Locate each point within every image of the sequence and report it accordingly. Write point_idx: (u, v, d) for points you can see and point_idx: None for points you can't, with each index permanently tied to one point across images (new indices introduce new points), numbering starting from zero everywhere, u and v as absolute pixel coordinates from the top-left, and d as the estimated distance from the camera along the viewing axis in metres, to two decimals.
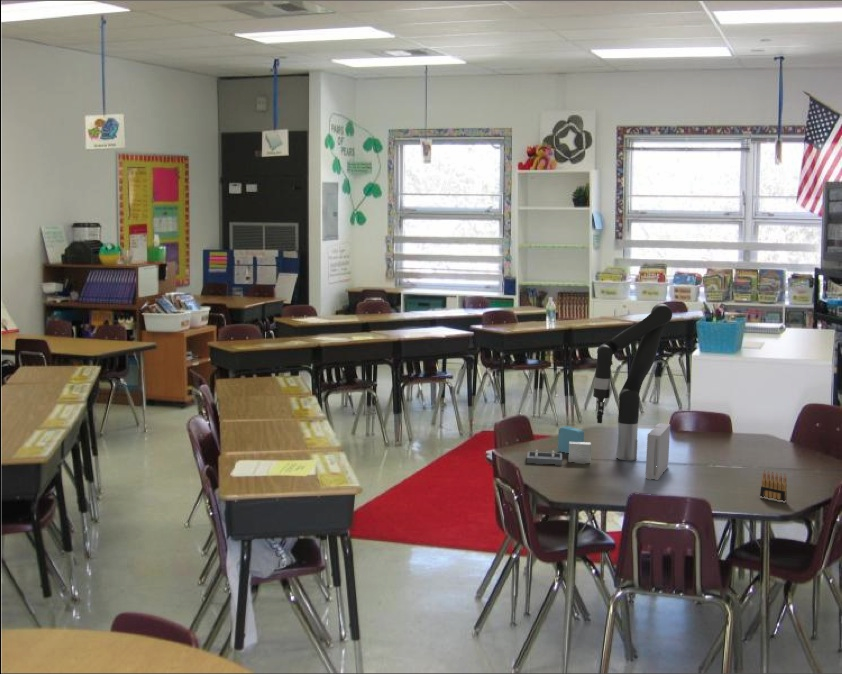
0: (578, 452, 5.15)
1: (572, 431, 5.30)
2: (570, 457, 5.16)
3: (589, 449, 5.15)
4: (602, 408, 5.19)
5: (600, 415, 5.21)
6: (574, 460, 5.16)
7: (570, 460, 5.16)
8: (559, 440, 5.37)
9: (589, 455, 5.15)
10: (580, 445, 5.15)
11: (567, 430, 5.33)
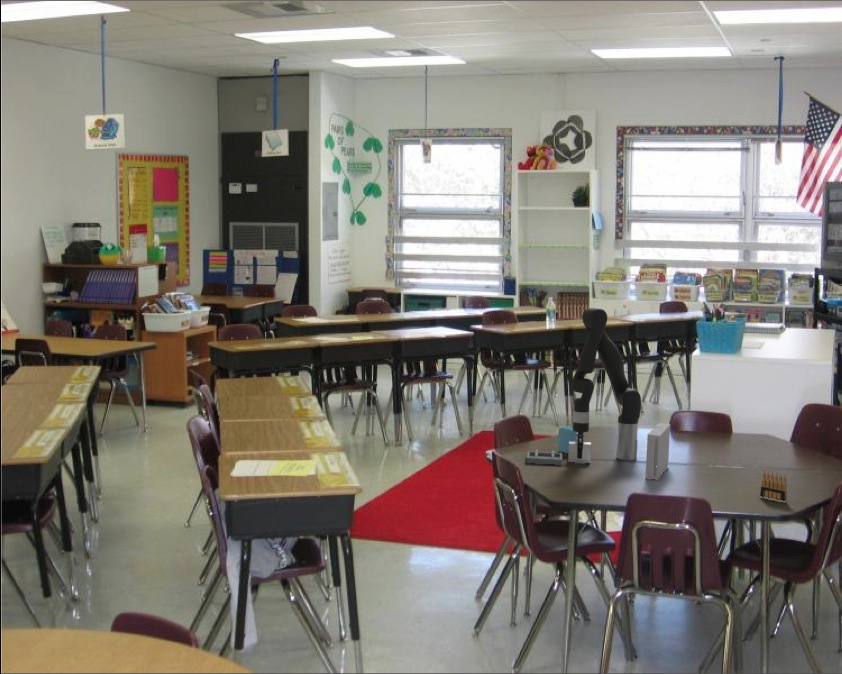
0: None
1: (572, 431, 5.31)
2: (570, 457, 5.16)
3: (589, 449, 5.14)
4: (581, 444, 5.11)
5: (580, 450, 5.14)
6: (574, 460, 5.16)
7: (570, 460, 5.16)
8: (559, 440, 5.37)
9: (589, 455, 5.15)
10: None
11: (567, 430, 5.33)
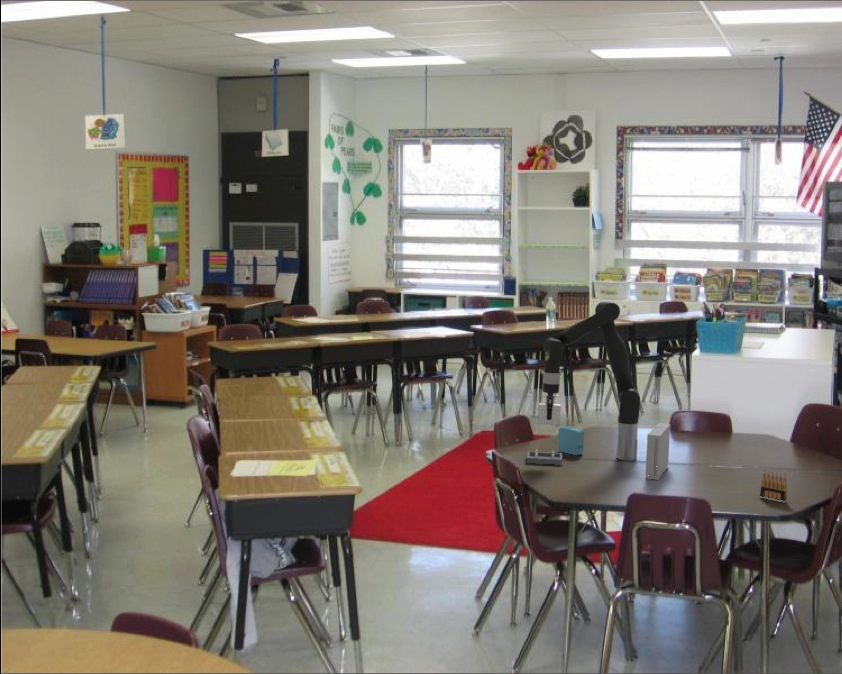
0: None
1: (572, 431, 5.31)
2: (539, 418, 5.14)
3: (559, 410, 5.12)
4: (551, 405, 5.09)
5: (549, 412, 5.11)
6: (543, 421, 5.14)
7: (539, 421, 5.14)
8: (559, 440, 5.37)
9: (558, 416, 5.13)
10: None
11: (567, 430, 5.33)
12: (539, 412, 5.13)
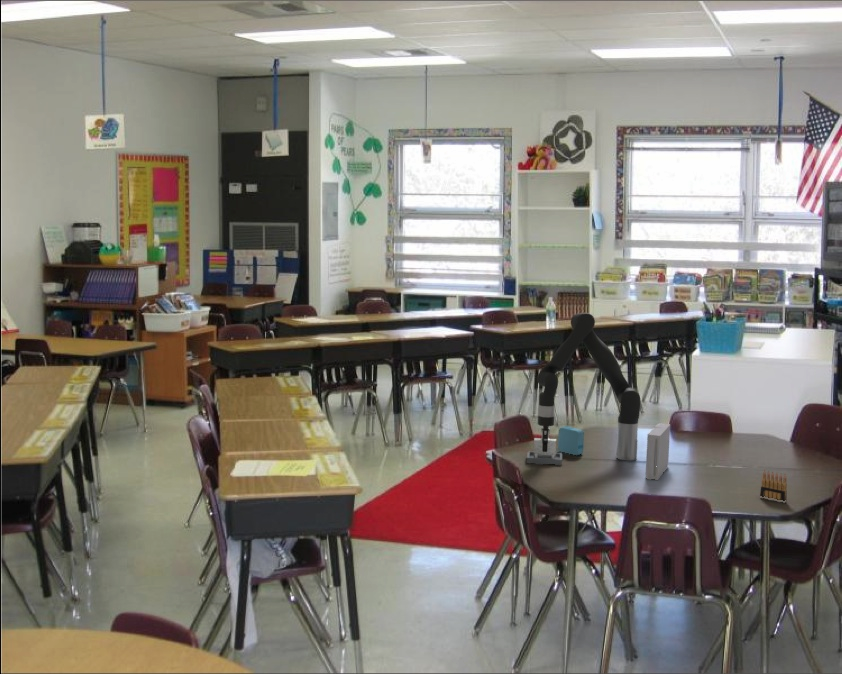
0: None
1: (572, 431, 5.31)
2: None
3: (554, 445, 5.14)
4: (546, 437, 5.10)
5: (545, 444, 5.12)
6: (539, 456, 5.16)
7: None
8: (559, 440, 5.37)
9: (554, 452, 5.15)
10: None
11: (567, 430, 5.33)
12: (535, 447, 5.16)
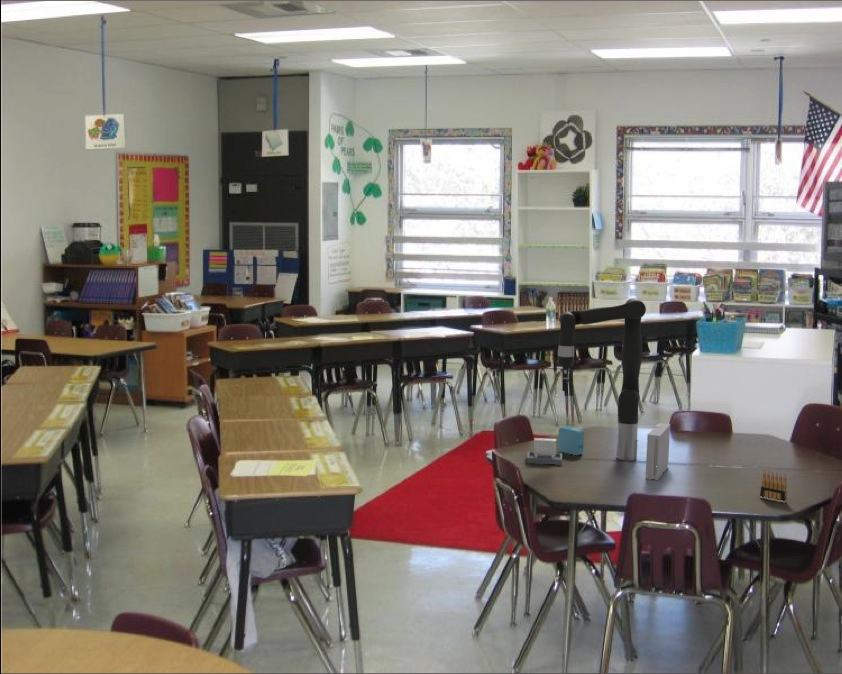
0: (543, 448, 5.15)
1: (572, 431, 5.31)
2: None
3: (554, 445, 5.14)
4: (566, 376, 5.16)
5: (565, 383, 5.18)
6: (539, 456, 5.16)
7: None
8: (559, 440, 5.37)
9: (554, 452, 5.15)
10: (545, 441, 5.15)
11: (567, 430, 5.33)
12: (535, 447, 5.16)
